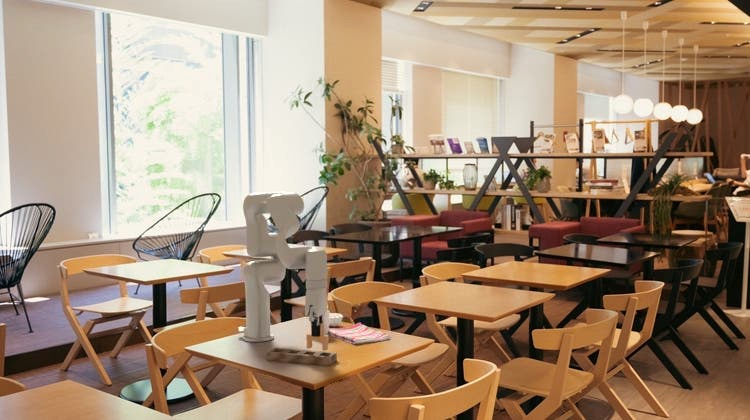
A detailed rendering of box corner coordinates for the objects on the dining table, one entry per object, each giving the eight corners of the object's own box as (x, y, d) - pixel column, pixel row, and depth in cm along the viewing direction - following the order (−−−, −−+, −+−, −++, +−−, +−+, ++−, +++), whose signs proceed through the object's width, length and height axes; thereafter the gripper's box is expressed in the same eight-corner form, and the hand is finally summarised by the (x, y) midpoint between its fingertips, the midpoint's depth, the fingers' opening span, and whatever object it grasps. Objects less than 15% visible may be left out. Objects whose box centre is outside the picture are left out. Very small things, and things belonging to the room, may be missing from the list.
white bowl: (336, 330, 306) (336, 314, 306) (311, 327, 311) (311, 312, 310) (347, 325, 315) (347, 309, 315) (322, 322, 320) (322, 307, 320)
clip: (306, 348, 257) (307, 323, 257) (308, 346, 260) (309, 322, 259) (325, 350, 255) (326, 325, 254) (328, 349, 257) (329, 324, 257)
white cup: (315, 338, 292) (314, 314, 291) (307, 334, 299) (307, 310, 298) (332, 336, 296) (332, 312, 295) (325, 332, 303) (324, 308, 302)
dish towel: (360, 329, 309) (359, 321, 309) (391, 340, 290) (391, 332, 289) (325, 335, 299) (325, 326, 299) (355, 347, 280) (355, 338, 280)
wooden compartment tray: (267, 360, 260) (267, 352, 260) (275, 355, 267) (275, 347, 266) (329, 366, 253) (329, 357, 253) (336, 360, 259) (336, 352, 259)
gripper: (315, 280, 265) (316, 329, 266) (297, 287, 249) (298, 339, 251) (334, 280, 262) (335, 330, 263) (317, 288, 247) (318, 341, 248)
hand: (317, 334), depth 257 cm, fingers closed on clip, 2 cm apart
